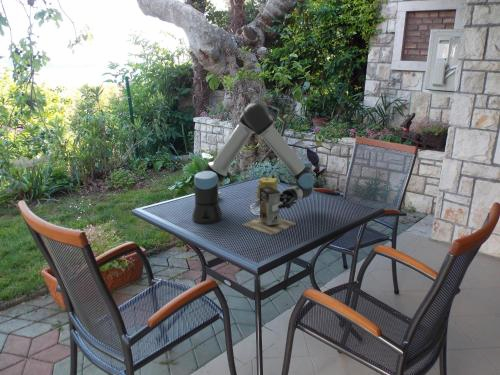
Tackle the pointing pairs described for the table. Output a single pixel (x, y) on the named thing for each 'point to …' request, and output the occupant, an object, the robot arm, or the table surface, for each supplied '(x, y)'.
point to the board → (268, 226)
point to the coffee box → (269, 205)
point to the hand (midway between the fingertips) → (263, 205)
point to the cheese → (266, 184)
